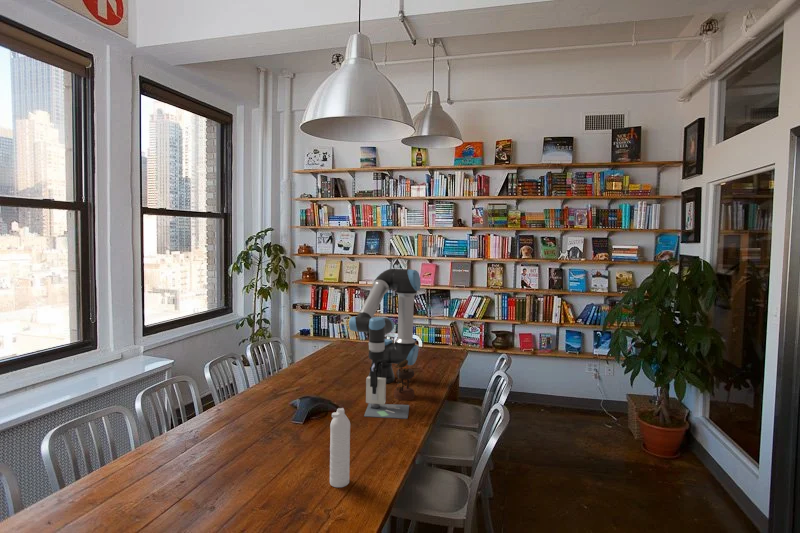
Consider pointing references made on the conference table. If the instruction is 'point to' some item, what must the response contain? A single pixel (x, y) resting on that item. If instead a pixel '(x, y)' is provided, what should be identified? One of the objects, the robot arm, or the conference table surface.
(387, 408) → the dial board
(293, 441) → the conference table surface
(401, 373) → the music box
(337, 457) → the water bottle
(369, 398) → the white flat block
